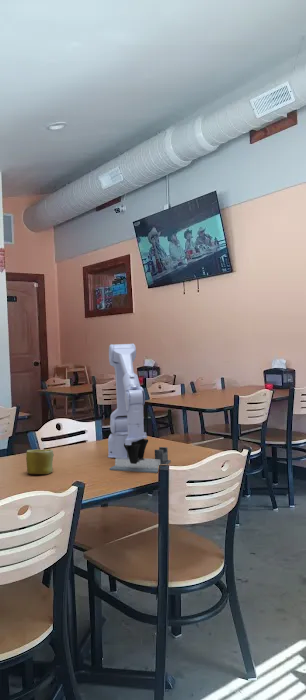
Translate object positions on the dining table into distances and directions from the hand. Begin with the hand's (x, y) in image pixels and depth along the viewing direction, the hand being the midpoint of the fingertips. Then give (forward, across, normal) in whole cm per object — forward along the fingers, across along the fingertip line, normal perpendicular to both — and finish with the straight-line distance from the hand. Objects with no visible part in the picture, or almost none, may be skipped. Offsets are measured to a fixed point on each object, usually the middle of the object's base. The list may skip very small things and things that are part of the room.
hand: (136, 461), depth 201 cm
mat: (+3, 0, 0) cm, 3 cm away
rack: (+3, +10, 0) cm, 10 cm away
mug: (+3, -12, +31) cm, 33 cm away
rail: (0, +1, 0) cm, 2 cm away
